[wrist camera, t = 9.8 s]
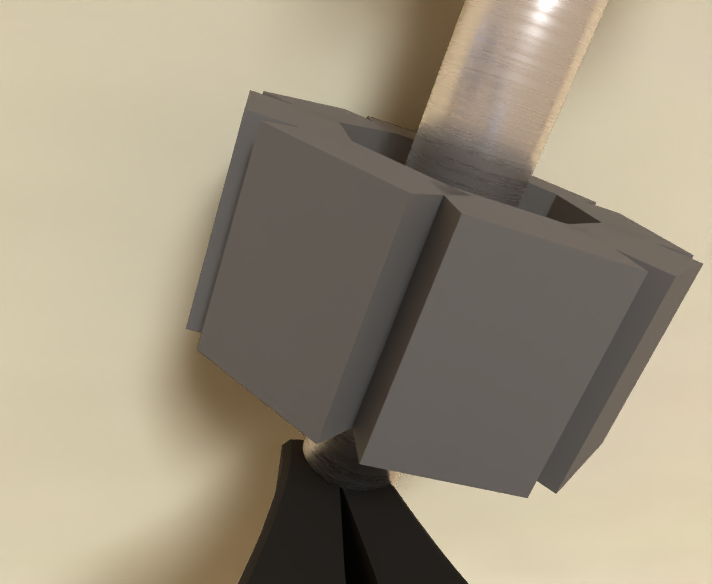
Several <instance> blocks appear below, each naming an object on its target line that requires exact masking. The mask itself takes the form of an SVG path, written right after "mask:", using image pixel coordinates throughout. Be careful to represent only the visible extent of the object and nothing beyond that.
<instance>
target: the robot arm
mask: <svg viewBox="0 0 712 584" xmlns="http://www.w3.org/2000/svg"><path fill="white" fill-rule="evenodd" d="M303 443H304V440H292V439H291V440H289V441H288V442H286V443H285V444H283V445H282V451H281V458H280V465H279V472H278V479H277V486H276V492H275V496H274V499H273V502H272V504H271V507H270V510H269V513H268V515H267V518H266V521H265V524H264V526H263V529H262V532H261V534H260V537H259V539H258V542H257V544H256V546H255V548H254V550H253V553H252V555H251V557H250V559H249V561H248V564H247V566H246V568H245V570H244V572H243V574H242V577H241V579H240V581H239V583H238V584H468V583H467V581H466V580H465V579H464V578H463V577H462V576H461V574H460V573H459V572H458V571H457V570H456V568H455V567H454V566H453V565H452V564H451V562H450V561H449V560H448V559H447V557H446V556H445V555H444V554H443V552H442V551H441V550H440V549H439V547H438V546H437V545H436V543H435V542H434V541H433V539H432V538H431V537H430V535H429V534H428V533H427V532H426V530H425V529H424V528H423V526H422V525H421V524H420V522H419V521H418V520H417V518H416V517H415V516H414V514H413V513H412V511H411V510H410V509H409V507H408V506H407V504H406V503H405V502H404V500H403V499H402V497H401V496H400V494H399V493H398V492H397V490H396V489H395V487H394V486H392V485H390V486H388V487H385V488H381V489H377V490H367V491H359V490H349V489H342V488H340V487H338V486H336V485H334V484H332V483H330V482H329V481H327V480H325V479H324V478H323V477H321V476H320V475H319V474H318V473H317V472H316V471H315V470H314V469H313V468H312V467H311V466H310V464H309V463H308V462H307V460H306V458H305V455H304V452H303Z"/></svg>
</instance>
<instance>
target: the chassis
mask: <svg viewBox="0 0 712 584" xmlns="http://www.w3.org/2000/svg"><path fill="white" fill-rule="evenodd" d="M607 3H608V0H465V2H464V4H463V7H462V10H461V13H460V15H459V18H458V21H457V24H456V26H455V29H454V32H453V35H452V37H451V40H450V43H449V46H448V48H447V51H446V54H445V56H444V59H443V62H442V65H441V67H440V70H439V73H438V76H437V78H436V81H435V84H434V87H433V89H432V92H431V95H430V98H429V100H428V103H427V106H426V108H425V111H424V114H423V117H422V119H421V122H420V125H419V128H418V130H417V133H416V136H415V139H414V141H413V144H412V147H411V150H410V152H409V155H408V158H407V160H406V163H405V166H407V167H410V168H412V169H414V170H416V171H418V172H420V173H423V174H425V175H427V176H429V177H431V178H433V179H436V180H438V181H440V182H442V183H444V184H446V185H449V186H451V187H454V188H457V189H460V190H463V191H466V192H469V193H472V194H475V195H479V196H482V197H485V198H488V199H491V200H494V201H497V202H500V203H503V204H507V205H510V206H513V207H516V208H518V205H519V203H520V201H521V199H522V196H523V194H524V192H525V190H526V187H527V185H528V183H529V180H530V178H531V176H532V174H533V171H534V169H535V167H536V164H537V162H538V160H539V158H540V155H541V153H542V151H543V149H544V146H545V144H546V142H547V139H548V137H549V135H550V133H551V130H552V128H553V126H554V123H555V121H556V119H557V117H558V114H559V112H560V110H561V107H562V105H563V103H564V101H565V98H566V96H567V94H568V92H569V89H570V87H571V85H572V82H573V80H574V78H575V76H576V73H577V71H578V69H579V66H580V64H581V62H582V60H583V57H584V55H585V53H586V51H587V48H588V46H589V44H590V41H591V39H592V37H593V35H594V32H595V30H596V28H597V25H598V23H599V21H600V19H601V16H602V14H603V12H604V10H605V7H606V5H607ZM303 452H304V455H305V458H306V460H307V462H308V463H309V464H310V466H311V467H312V468H313V469H314V470H315V471H316V472H317V473H318V474H319V475H320V476H321V477H323V478H324V479H325V480H327V481H329V482H330V483H332V484H334V485H336V486H338V487H340V488H342V489H349V490H359V491H367V490H377V489H381V488H385V487H388V486H390V485H392V486H395V485H396V483H397V481H398V479H399V477H400V474H401V472H396V471H391V470H386V469H381V468H376V467H371V466H366V465H361V464H359V459H358V454H357V449H356V444H355V439H354V434H353V429H352V428H351V429H349V430H346V431H344V432H342V433H340V434H338V435H336V436H334V437H331V438H329V439H327V440H325V441H323V442H321V443H319V444H315V443H314V442H313V441H312V440H310V439H309V438H308V437H305V440H304V443H303Z"/></svg>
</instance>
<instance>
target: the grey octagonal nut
mask: <svg viewBox="0 0 712 584" xmlns="http://www.w3.org/2000/svg"><path fill="white" fill-rule="evenodd" d="M415 136H416V132H414V131H411V130H408V129H405V128H402V127H399V126H396V125H393V124H390V123H387V122H384V121H381V120H378V119H375V118H372V117H369V116H368V117H367V119H366V118H364V117H361V116H359V115H357V114H355V113H352V112H350V111H348V110H345V109H341V108H337V107H332V106H328V105H323V104H319V103H314V102H310V101H305V100H301V99H297V98H292V97H288V96H283V95H279V94H274V93H270V92H265V91H264V92H263V94H260V93H257V92H254V91H251V90H250V93H249V96H248V99H247V103H246V106H245V110H244V113H243V117H242V121H241V125H240V128H239V132H238V136H237V140H236V143H235V147H234V151H233V155H232V158H231V162H230V166H229V170H228V173H227V177H226V181H225V185H224V188H223V192H222V196H221V199H220V203H219V207H218V211H217V214H216V218H215V222H214V226H213V229H212V233H211V237H210V241H209V244H208V248H207V252H206V256H205V259H204V263H203V267H202V271H201V274H200V278H199V282H198V286H197V289H196V293H195V297H194V300H193V304H192V308H191V312H190V315H189V319H188V323H187V327H186V329H189V330H193V331H197V332H201V337H200V340H199V344H198V347H197V350H198V351H199V352H201V353H202V354H203V355H204V356H206V357H207V358H208V359H210V360H211V361H212V362H213V363H215V364H216V365H217V366H218V367H220V368H221V369H222V370H223V371H225V372H226V373H227V374H228V375H230V376H231V377H232V378H233V379H235V380H236V381H237V382H238V383H240V384H241V385H242V386H244V387H245V388H246V389H247V390H249V391H250V392H251V393H252V394H254V395H255V396H256V397H257V398H259V399H260V400H261V401H262V402H264V403H265V404H266V405H267V406H269V407H270V408H271V409H272V410H274V411H275V412H276V413H278V414H279V415H280V416H281V417H283V418H284V419H285V420H286V421H288V422H289V423H290V424H291V425H293V426H294V427H295V428H296V429H298V430H299V431H300V432H301V433H303V434H304V435H305V436H306V437H308V438H309V439H310V440H312V441H313V442H314V443H315V444H319V443H321V442H323V441H325V440H327V439H329V438H331V437H334V436H336V435H338V434H340V433H342V432H344V431H346V430H349V429H351V428H352V429H353V434H354V439H355V444H356V449H357V454H358V459H359V464H361V465H366V466H371V467H376V468H381V469H386V470H391V471H396V472H401V473H406V474H411V475H416V476H421V477H426V478H431V479H436V480H441V481H446V482H451V483H456V484H460V485H465V486H470V487H475V488H480V489H485V490H490V491H495V492H500V493H505V494H510V495H515V496H520V497H525V498H528V496H529V494H530V492H531V491H532V489H533V487H534V485H535V483H536V481H538V482H539V483H541V484H542V485H544V486H545V487H547V488H548V489H550V490H551V491H553V492H554V493H557V492H558V491H559V490H560V489H561V488H562V487H563V486H564V485H565V483H566V482H567V481H568V480H569V479H570V478H571V477H572V476H573V475H574V474H575V472H576V471H577V470H578V469H579V468H580V467H581V466H582V465H583V464H584V463H585V462H586V460H587V459H588V458H589V457H590V456H591V455H592V454H593V453H594V452H595V451H596V449H597V448H598V447H599V446H600V445H601V444H602V443H603V441H604V439H605V437H606V435H607V434H608V432H609V430H610V428H611V427H612V425H613V423H614V421H615V419H616V418H617V416H618V414H619V412H620V411H621V409H622V407H623V405H624V404H625V402H626V400H627V398H628V396H629V395H630V393H631V391H632V389H633V388H634V386H635V384H636V382H637V380H638V379H639V377H640V375H641V373H642V372H643V370H644V368H645V366H646V364H647V363H648V361H649V359H650V357H651V356H652V354H653V352H654V350H655V349H656V347H657V345H658V343H659V341H660V340H661V338H662V336H663V334H664V333H665V331H666V329H667V327H668V325H669V324H670V322H671V320H672V318H673V317H674V315H675V313H676V311H677V309H678V308H679V306H680V304H681V302H682V301H683V299H684V297H685V295H686V293H687V292H688V290H689V288H690V286H691V285H692V283H693V281H694V279H695V278H696V276H697V274H698V272H699V270H700V269H701V267H702V265H703V263H700V262H698V261H696V260H693V259H692V257H693V256H694V255H692V254H690V253H688V252H687V251H685V250H683V249H681V248H680V247H678V246H676V245H674V244H673V243H671V242H669V241H667V240H665V239H664V238H662V237H660V236H658V235H657V234H655V233H653V232H651V231H650V230H648V229H646V228H644V227H643V226H641V225H639V224H637V223H635V222H634V221H632V220H630V219H628V218H627V217H625V216H623V215H621V214H620V213H617V212H614V211H611V210H608V209H605V208H602V207H599V206H596V205H595V204H596V202H594V201H591V200H589V199H587V198H584V197H582V196H580V195H577V194H575V193H572V192H570V191H568V190H565V189H563V188H560V187H558V186H556V185H553V184H551V183H548V182H546V181H544V180H541V179H539V178H537V177H534V176H531V178H530V180H529V183H528V185H527V187H526V190H525V192H524V194H523V196H522V199H521V201H520V203H519V205H518V208H516V207H513V206H510V205H507V204H503V203H500V202H497V201H494V200H491V199H488V198H485V197H482V196H479V195H475V194H472V193H469V192H466V191H463V190H460V189H457V188H454V187H451V186H449V185H446V184H444V183H442V182H440V181H438V180H436V179H433V178H431V177H429V176H427V175H425V174H423V173H420V172H418V171H416V170H414V169H412V168H410V167H407V166H405V163H406V160H407V158H408V155H409V152H410V150H411V147H412V144H413V141H414V139H415Z"/></svg>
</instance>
